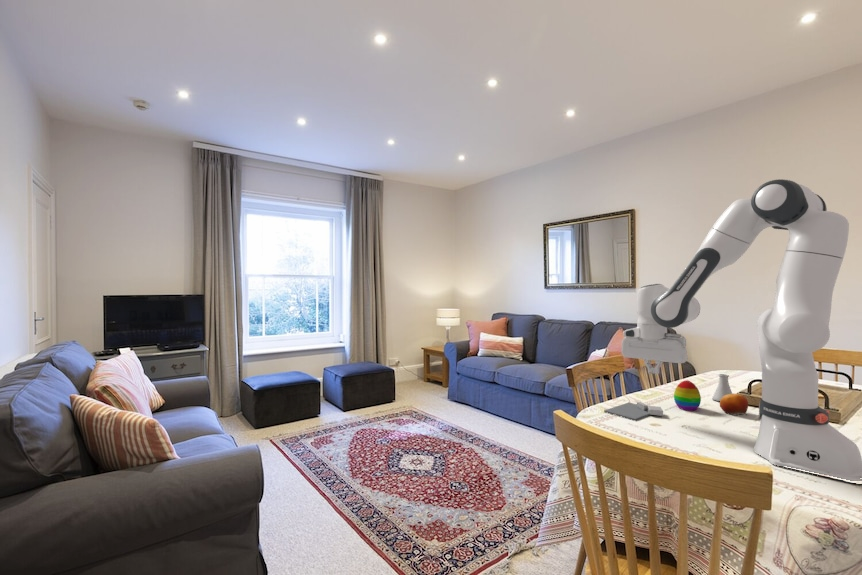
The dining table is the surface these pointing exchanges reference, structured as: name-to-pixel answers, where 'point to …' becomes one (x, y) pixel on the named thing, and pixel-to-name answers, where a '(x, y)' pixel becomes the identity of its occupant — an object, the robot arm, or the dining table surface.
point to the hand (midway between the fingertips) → (653, 373)
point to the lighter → (650, 409)
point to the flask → (722, 387)
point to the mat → (628, 411)
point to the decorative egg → (687, 396)
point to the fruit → (734, 404)
